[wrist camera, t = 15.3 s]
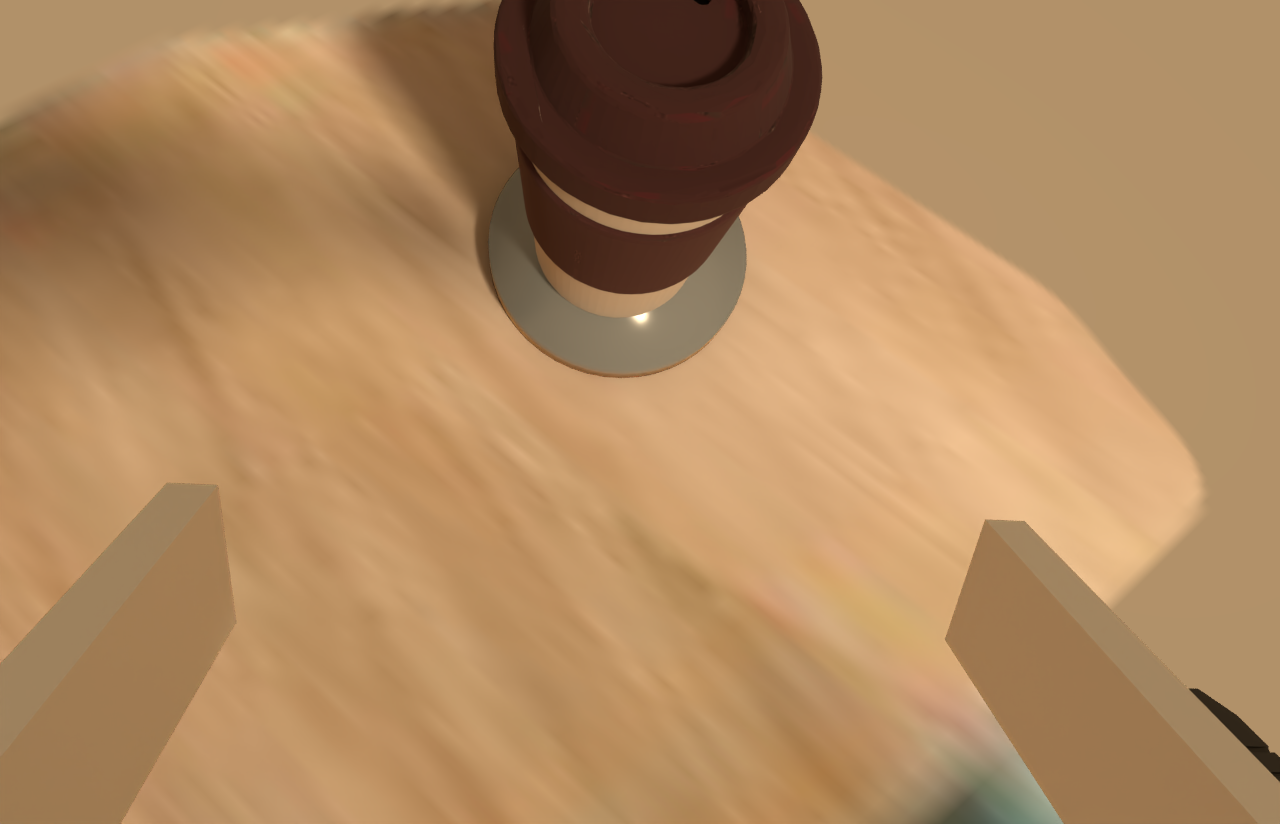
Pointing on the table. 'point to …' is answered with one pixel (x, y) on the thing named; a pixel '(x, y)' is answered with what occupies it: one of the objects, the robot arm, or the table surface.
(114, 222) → the table surface
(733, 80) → the coffee cup
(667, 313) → the slate coaster
